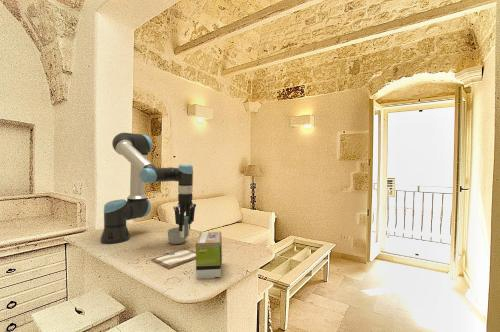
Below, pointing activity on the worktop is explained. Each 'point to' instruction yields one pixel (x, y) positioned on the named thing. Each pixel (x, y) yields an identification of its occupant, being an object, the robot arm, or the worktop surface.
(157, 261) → the clipboard
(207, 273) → the tea box
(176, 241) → the teacup
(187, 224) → the marker
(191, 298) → the worktop surface
